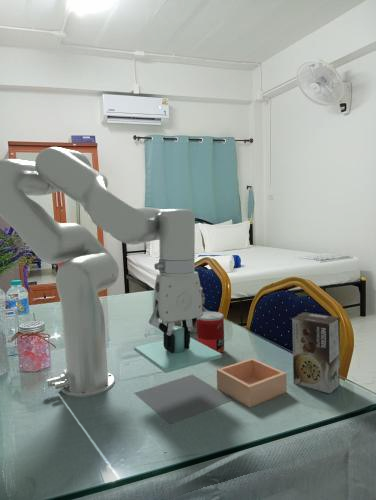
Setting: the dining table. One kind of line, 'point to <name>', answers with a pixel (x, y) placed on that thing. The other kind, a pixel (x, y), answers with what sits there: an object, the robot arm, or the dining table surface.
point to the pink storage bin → (251, 382)
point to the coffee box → (316, 351)
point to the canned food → (211, 330)
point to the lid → (177, 353)
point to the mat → (182, 398)
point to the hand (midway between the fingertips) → (176, 348)
